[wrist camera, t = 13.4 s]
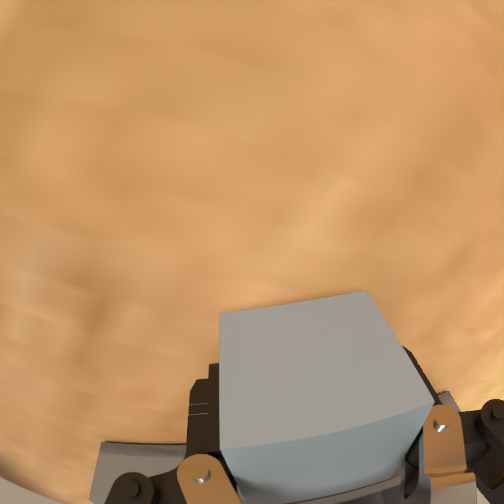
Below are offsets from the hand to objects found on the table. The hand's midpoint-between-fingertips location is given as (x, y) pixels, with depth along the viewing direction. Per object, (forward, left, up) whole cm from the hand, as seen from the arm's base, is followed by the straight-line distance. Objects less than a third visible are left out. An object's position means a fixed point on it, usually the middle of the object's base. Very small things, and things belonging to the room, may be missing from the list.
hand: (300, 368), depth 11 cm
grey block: (0, 0, -1) cm, 1 cm away
